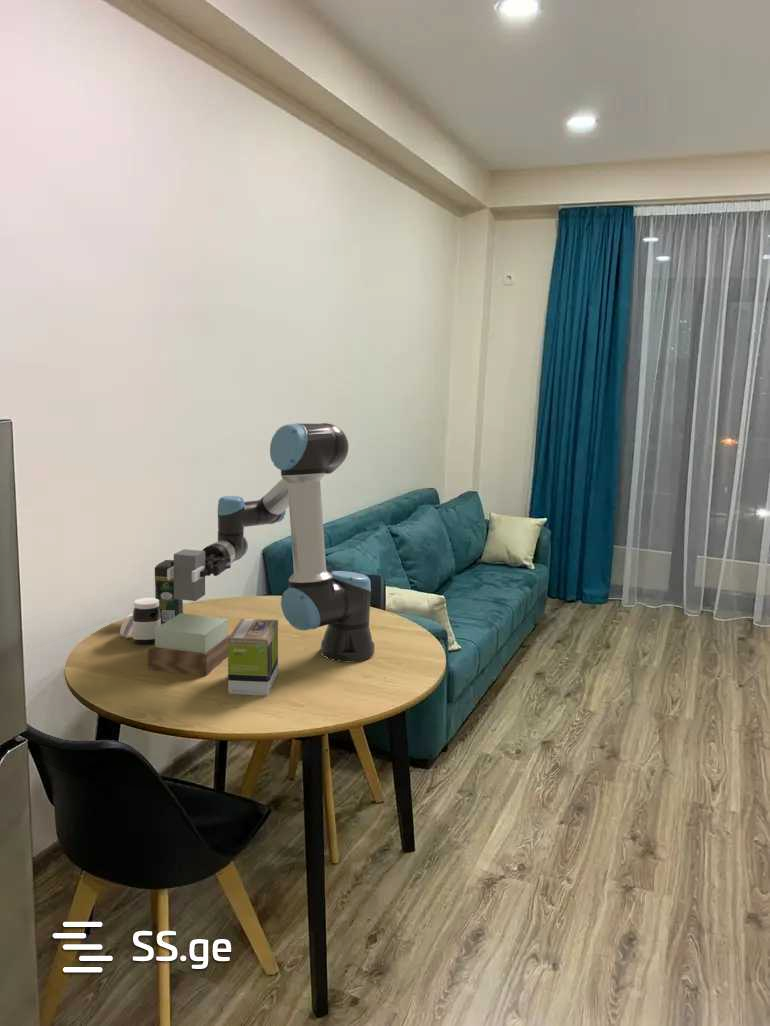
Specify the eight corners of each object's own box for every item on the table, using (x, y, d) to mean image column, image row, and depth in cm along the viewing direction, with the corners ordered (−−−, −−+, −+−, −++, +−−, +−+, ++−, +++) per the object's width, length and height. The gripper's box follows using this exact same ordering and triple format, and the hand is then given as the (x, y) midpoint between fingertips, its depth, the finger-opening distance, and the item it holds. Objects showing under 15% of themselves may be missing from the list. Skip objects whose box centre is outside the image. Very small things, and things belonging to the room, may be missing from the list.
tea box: (240, 671, 198) (241, 616, 195) (278, 673, 197) (280, 618, 195) (226, 694, 183) (227, 636, 180) (268, 697, 183) (269, 638, 180)
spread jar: (160, 645, 214) (159, 605, 212) (117, 647, 211) (117, 607, 209) (161, 631, 225) (161, 593, 223) (121, 633, 222) (121, 594, 220)
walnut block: (230, 655, 209) (230, 635, 208) (206, 677, 194) (206, 655, 193) (176, 649, 212) (175, 629, 211) (148, 670, 196) (148, 648, 195)
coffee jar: (160, 614, 241) (159, 557, 238) (185, 615, 241) (185, 558, 238) (152, 624, 231) (151, 565, 228) (178, 624, 232) (177, 565, 229)
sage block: (227, 636, 207) (227, 618, 206) (205, 653, 194) (205, 634, 193) (180, 630, 210) (180, 613, 209) (155, 647, 197) (155, 628, 196)
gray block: (205, 594, 202) (205, 551, 200) (195, 601, 196) (195, 556, 194) (184, 592, 203) (184, 549, 201) (173, 598, 197) (173, 554, 195)
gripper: (248, 571, 215) (215, 593, 192) (186, 566, 218) (146, 586, 196) (249, 546, 213) (215, 564, 191) (186, 540, 217) (146, 558, 194)
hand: (180, 575), depth 193 cm, fingers closed on gray block, 6 cm apart
